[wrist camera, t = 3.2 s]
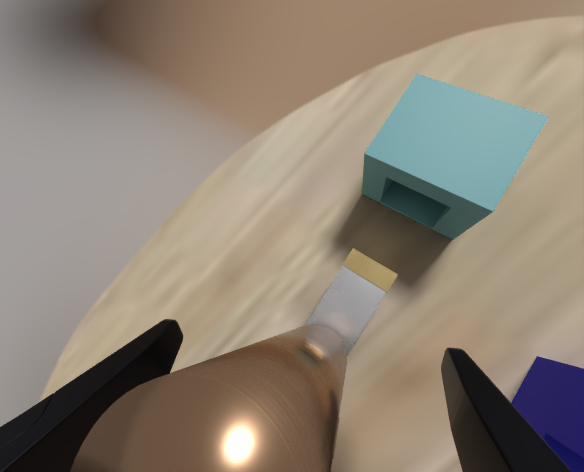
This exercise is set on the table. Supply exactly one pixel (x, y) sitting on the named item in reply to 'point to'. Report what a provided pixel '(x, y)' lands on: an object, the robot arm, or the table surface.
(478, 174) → the teal block with slot
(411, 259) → the table surface
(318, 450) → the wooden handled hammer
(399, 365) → the table surface
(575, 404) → the cable clip
